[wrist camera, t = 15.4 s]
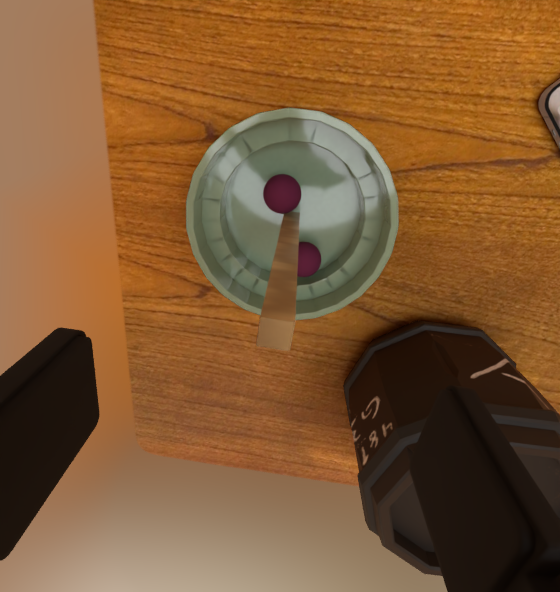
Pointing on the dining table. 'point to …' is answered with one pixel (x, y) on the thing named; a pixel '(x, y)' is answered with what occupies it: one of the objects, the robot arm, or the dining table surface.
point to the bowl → (312, 207)
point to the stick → (281, 289)
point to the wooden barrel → (413, 415)
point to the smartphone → (551, 109)
